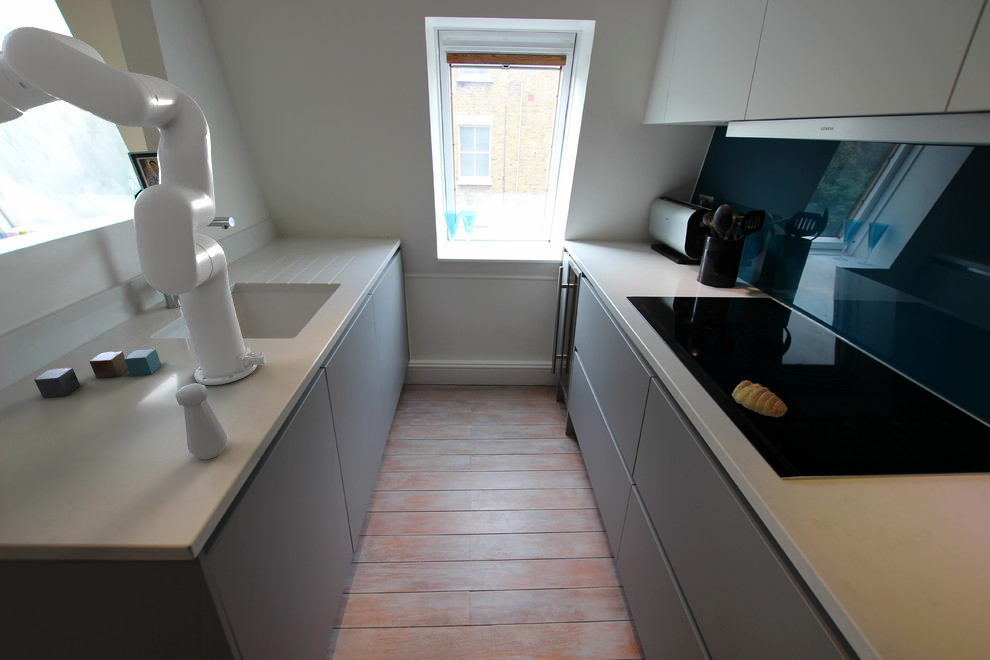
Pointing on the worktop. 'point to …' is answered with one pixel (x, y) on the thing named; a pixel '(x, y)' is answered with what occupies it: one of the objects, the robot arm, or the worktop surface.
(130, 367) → the teal block
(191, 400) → the salt shaker
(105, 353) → the walnut block
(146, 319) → the worktop surface
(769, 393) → the pastry
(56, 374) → the charcoal block
